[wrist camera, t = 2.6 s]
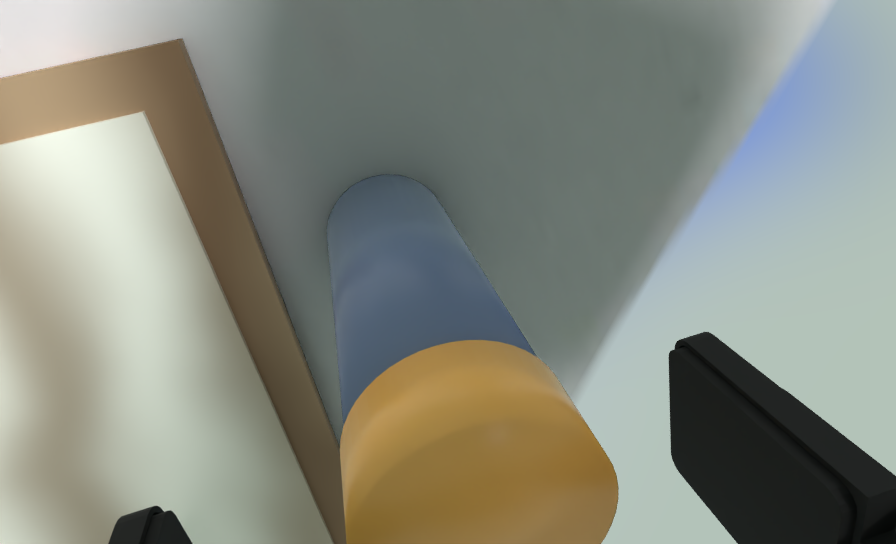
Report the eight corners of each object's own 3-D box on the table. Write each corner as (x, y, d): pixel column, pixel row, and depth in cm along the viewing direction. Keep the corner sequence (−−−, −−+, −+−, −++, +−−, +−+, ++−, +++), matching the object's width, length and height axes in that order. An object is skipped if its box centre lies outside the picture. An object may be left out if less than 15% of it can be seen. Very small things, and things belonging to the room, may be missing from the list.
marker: (436, 157, 18) (611, 382, 8) (458, 270, 20) (623, 570, 10) (307, 190, 18) (308, 476, 7) (343, 302, 20) (386, 653, 9)
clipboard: (182, 38, 15) (169, 43, 14) (382, 559, 26) (386, 591, 24) (-496, 186, 14) (-588, 209, 12) (15, 679, 24) (-3, 722, 23)
